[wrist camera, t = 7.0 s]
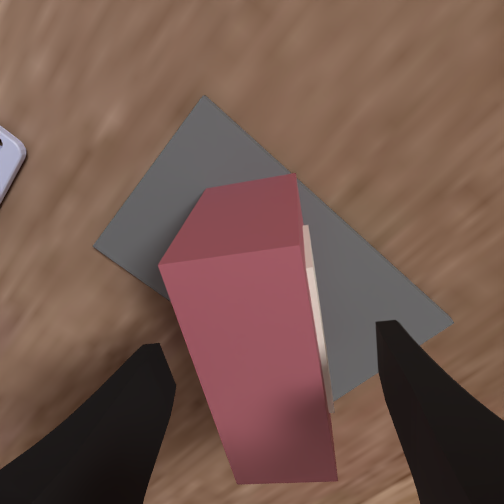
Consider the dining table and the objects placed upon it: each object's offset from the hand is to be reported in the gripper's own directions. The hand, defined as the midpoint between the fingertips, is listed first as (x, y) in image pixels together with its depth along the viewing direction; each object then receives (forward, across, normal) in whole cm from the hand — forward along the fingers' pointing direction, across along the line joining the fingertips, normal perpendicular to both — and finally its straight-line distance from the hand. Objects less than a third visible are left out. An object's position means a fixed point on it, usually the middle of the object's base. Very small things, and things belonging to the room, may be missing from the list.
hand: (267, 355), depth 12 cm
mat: (+5, 0, 0) cm, 5 cm away
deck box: (+4, 0, 0) cm, 4 cm away
